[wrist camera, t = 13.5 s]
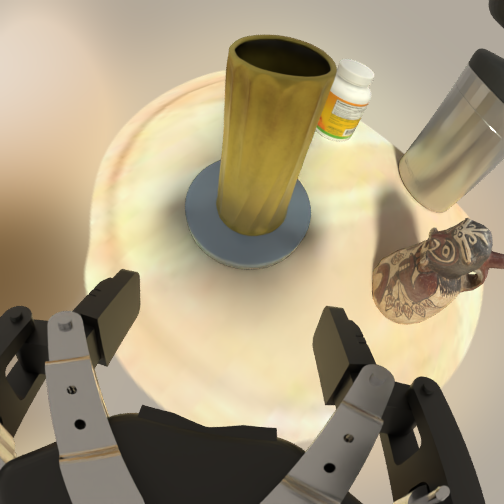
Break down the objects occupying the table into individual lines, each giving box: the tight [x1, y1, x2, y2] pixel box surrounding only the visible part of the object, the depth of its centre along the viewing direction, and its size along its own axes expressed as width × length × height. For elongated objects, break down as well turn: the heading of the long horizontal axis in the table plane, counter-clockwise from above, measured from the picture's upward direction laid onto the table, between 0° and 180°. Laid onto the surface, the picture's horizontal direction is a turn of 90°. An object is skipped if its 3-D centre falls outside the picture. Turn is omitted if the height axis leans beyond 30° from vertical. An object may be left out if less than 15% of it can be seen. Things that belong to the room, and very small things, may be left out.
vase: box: [216, 35, 337, 236], centre depth 17 cm, size 6×6×14 cm
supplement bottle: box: [316, 59, 374, 141], centre depth 26 cm, size 5×5×10 cm
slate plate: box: [185, 160, 311, 269], centre depth 24 cm, size 11×11×2 cm
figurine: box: [372, 218, 504, 324], centre depth 18 cm, size 7×7×12 cm
